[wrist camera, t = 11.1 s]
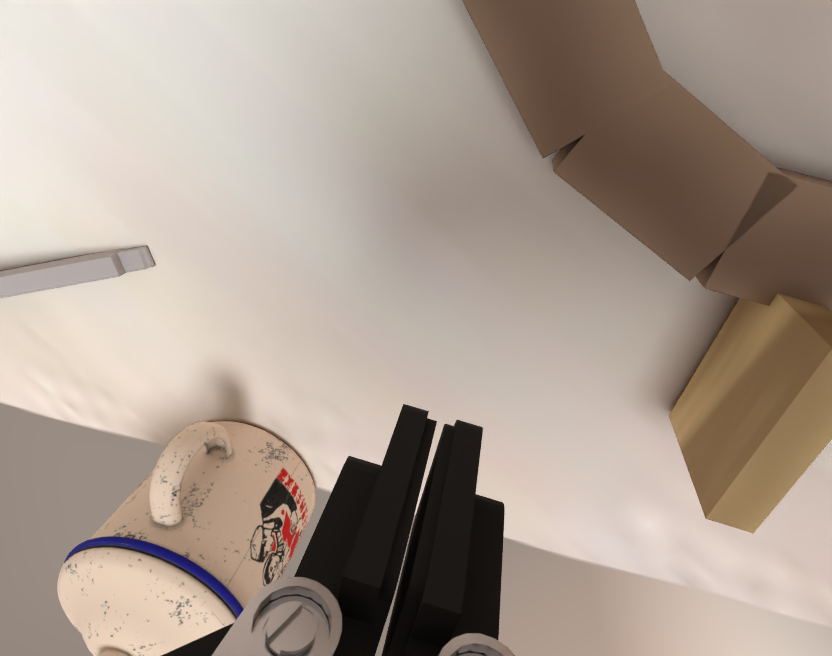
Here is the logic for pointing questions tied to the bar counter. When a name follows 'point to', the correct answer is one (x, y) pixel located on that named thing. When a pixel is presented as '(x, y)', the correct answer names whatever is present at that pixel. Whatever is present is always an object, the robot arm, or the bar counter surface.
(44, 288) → the caliper
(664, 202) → the turning ring
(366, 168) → the bar counter surface
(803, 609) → the bar counter surface
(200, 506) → the teacup with lid
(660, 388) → the bar counter surface
